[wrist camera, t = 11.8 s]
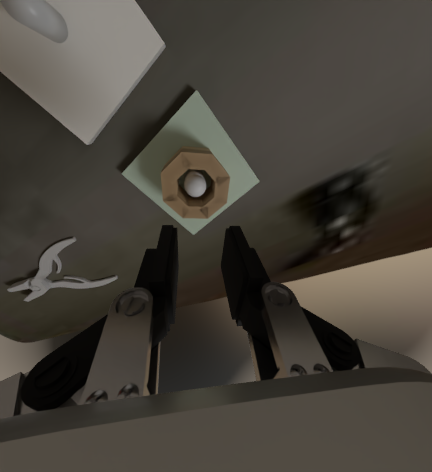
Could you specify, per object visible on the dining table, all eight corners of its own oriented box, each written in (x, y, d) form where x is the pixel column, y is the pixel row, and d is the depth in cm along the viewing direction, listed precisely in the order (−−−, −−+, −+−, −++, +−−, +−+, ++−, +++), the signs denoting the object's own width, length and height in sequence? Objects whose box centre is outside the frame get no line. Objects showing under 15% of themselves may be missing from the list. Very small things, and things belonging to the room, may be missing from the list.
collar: (163, 144, 19) (158, 150, 16) (226, 149, 20) (233, 155, 17) (167, 203, 23) (164, 217, 20) (219, 205, 24) (224, 219, 21)
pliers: (116, 283, 30) (44, 311, 31) (119, 276, 31) (50, 303, 33) (68, 240, 24) (-17, 277, 26) (74, 234, 26) (-7, 270, 27)
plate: (196, 91, 18) (198, 83, 14) (257, 179, 24) (271, 192, 20) (124, 171, 21) (107, 185, 17) (193, 231, 27) (194, 252, 23)
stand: (0, -192, 10) (-110, -372, 6) (165, 47, 16) (158, 26, 12) (-66, 9, 13) (-162, -32, 10) (91, 143, 19) (68, 150, 16)
